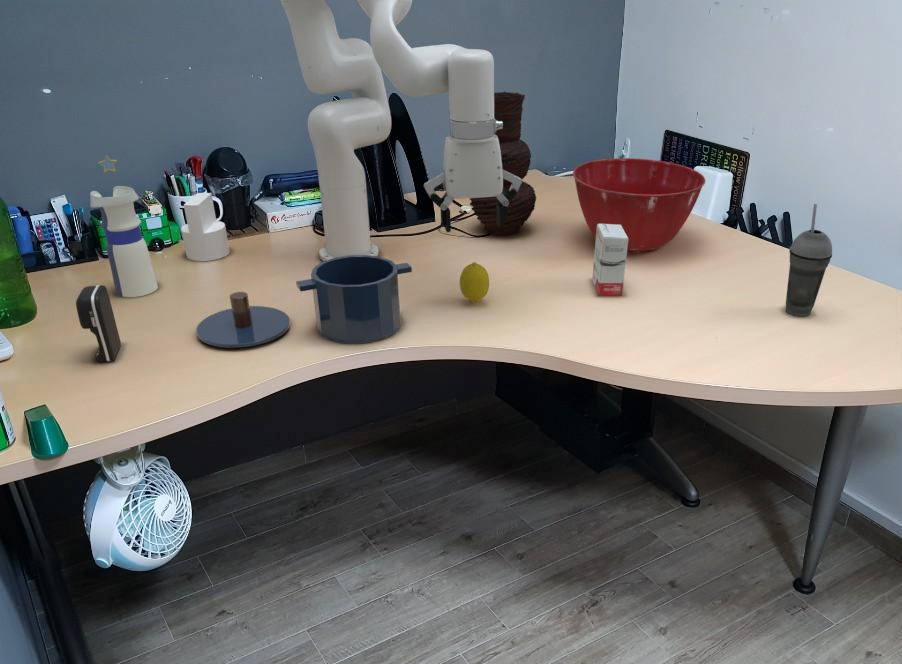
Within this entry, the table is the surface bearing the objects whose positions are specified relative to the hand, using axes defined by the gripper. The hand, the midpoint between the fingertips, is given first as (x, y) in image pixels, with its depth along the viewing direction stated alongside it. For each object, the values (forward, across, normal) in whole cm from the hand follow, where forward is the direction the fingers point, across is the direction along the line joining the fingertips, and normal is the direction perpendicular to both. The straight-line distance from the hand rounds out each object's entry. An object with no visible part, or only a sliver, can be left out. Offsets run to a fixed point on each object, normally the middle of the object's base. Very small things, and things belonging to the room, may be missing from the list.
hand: (474, 228), depth 144 cm
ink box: (+15, -27, -3) cm, 31 cm away
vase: (+14, -14, -40) cm, 45 cm away
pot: (+14, +22, +6) cm, 27 cm away
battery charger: (+14, +64, +9) cm, 66 cm away
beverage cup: (+16, -58, +15) cm, 62 cm away
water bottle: (+14, +64, -19) cm, 68 cm away
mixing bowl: (+15, -41, -27) cm, 51 cm away
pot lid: (+14, +42, +4) cm, 44 cm away
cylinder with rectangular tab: (+14, +52, -37) cm, 66 cm away
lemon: (+15, 0, 0) cm, 15 cm away
